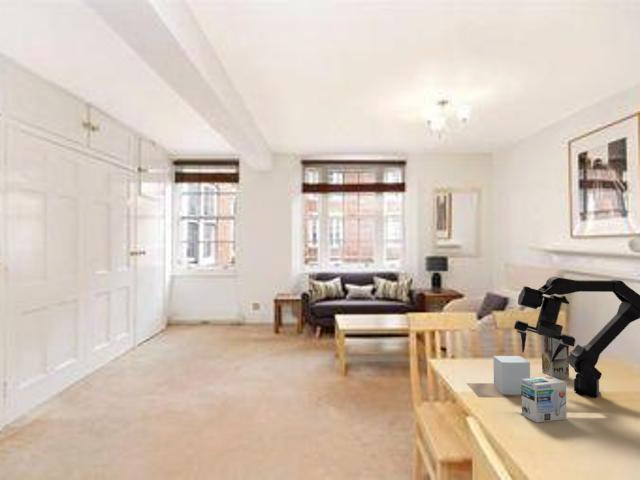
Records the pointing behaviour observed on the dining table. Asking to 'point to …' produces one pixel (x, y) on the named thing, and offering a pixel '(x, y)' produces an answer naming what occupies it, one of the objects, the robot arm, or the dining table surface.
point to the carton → (510, 373)
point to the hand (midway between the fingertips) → (537, 357)
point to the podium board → (488, 390)
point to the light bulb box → (543, 399)
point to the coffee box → (560, 363)
